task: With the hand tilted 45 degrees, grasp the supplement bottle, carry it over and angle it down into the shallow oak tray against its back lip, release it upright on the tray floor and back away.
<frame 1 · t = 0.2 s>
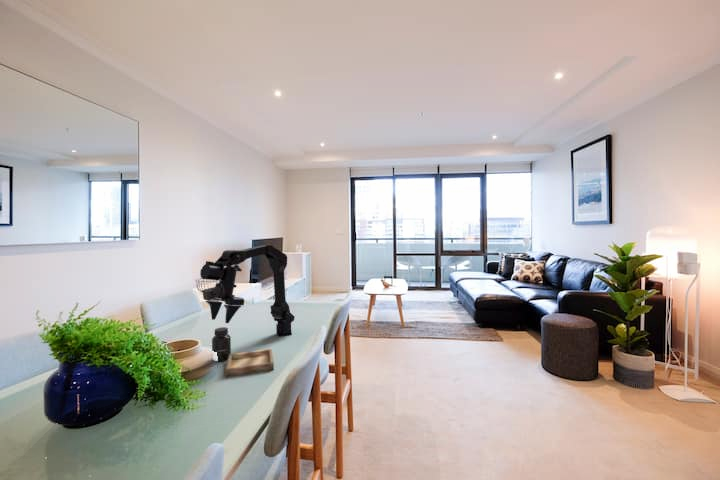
hand: (220, 321, 122), 15 cm above the table, tool pointing down, fingers open, 9 cm apart
supplement bottle: (221, 359, 124), on the table
oak tray: (250, 365, 118), on the table
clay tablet: (150, 354, 130), on the table
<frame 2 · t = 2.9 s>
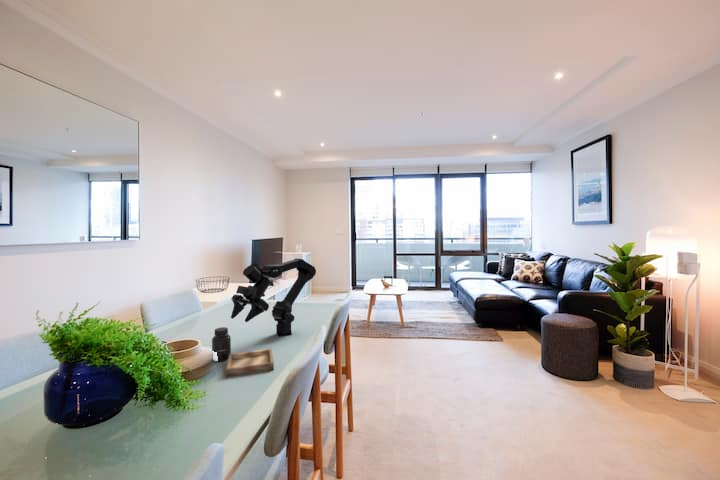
hand: (238, 319, 130), 13 cm above the table, tool tilted 45°, fingers open, 9 cm apart
nothing on the table moved.
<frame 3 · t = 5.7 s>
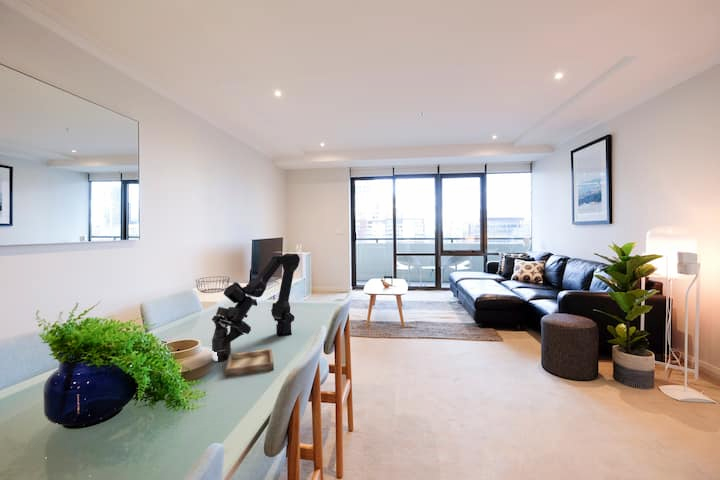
hand: (218, 343, 122), 7 cm above the table, tool tilted 45°, fingers closed on supplement bottle, 7 cm apart
supplement bottle: (221, 359, 124), on the table, touching gripper
everything else where it was.
when the fingers open (9 cm above the table, at t = 9.8 s): supplement bottle drops 1 cm, resting on oak tray.
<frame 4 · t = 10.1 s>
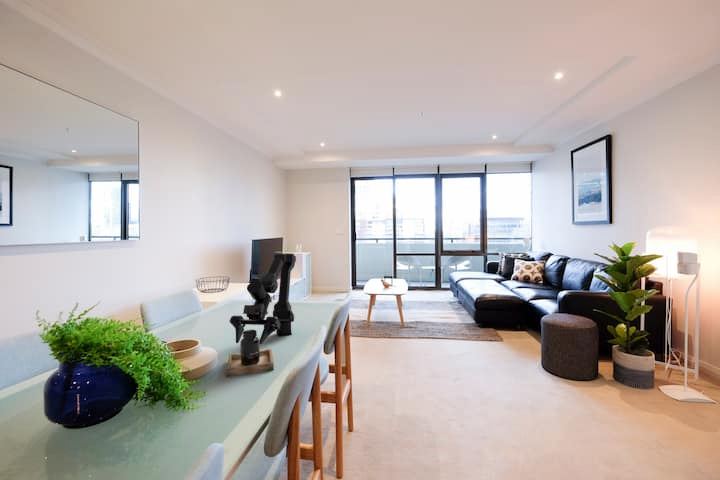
hand: (248, 343, 116), 9 cm above the table, tool tilted 45°, fingers open, 9 cm apart
supplement bottle: (250, 363, 118), point 1 cm above the table, touching oak tray
everything else where it was.
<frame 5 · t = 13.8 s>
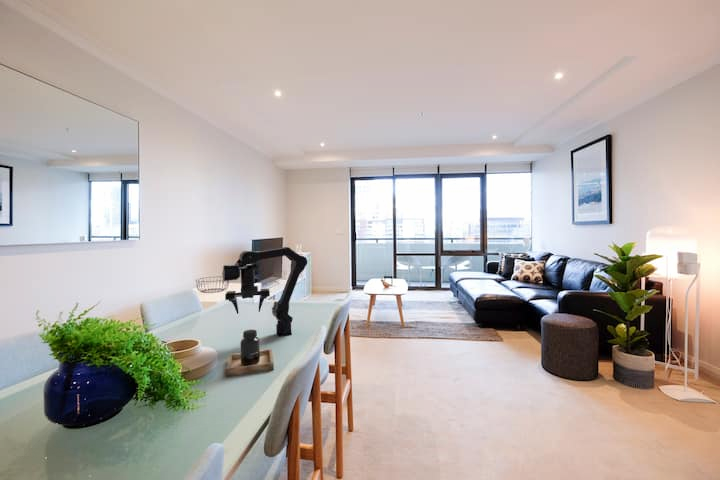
hand: (248, 312, 142), 13 cm above the table, tool pointing down, fingers open, 9 cm apart
nothing on the table moved.
at the end: supplement bottle inside the target area on the oak tray (0.3 cm from its centre), point 0.6 cm above the oak tray's base; supplement bottle tilted 0°; the gripper is holding nothing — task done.
